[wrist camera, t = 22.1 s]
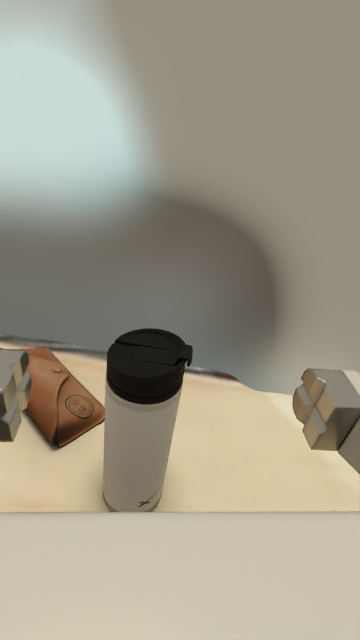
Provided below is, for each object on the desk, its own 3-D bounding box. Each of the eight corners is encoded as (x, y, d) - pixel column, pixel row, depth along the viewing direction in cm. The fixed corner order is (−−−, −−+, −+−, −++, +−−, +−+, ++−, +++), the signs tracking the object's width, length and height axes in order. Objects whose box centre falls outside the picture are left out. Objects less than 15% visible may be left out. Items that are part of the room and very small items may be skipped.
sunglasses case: (114, 412, 44) (91, 393, 39) (74, 456, 42) (44, 442, 37) (44, 344, 54) (18, 321, 48) (8, 377, 52) (-23, 357, 46)
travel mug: (158, 527, 34) (188, 380, 23) (94, 513, 34) (94, 362, 23) (168, 470, 39) (197, 330, 28) (113, 459, 39) (119, 315, 28)
